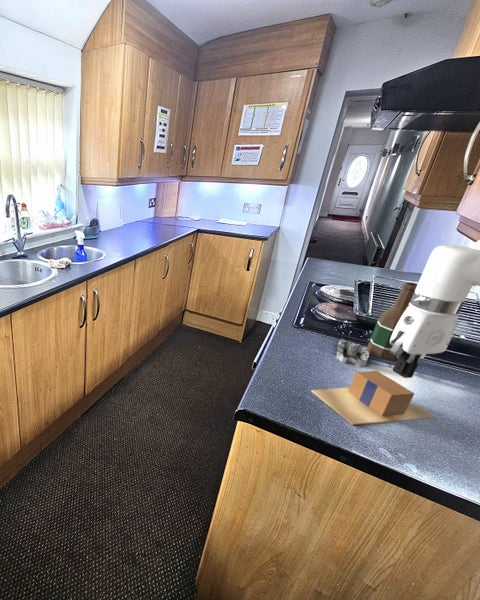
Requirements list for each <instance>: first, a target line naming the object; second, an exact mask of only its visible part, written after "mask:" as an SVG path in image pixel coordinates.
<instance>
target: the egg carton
mask: <svg viewBox="0 0 480 600" xmlns="http://www.w3.org/2000/svg"><path fill="white" fill-rule="evenodd" d="M344 350H346V353H345V355H347V356H348V357H346V356H345V355H344ZM358 353H359V354H360V356H359V358H357V359H354V358H353V357H356V356H357V354H358ZM335 358H336V360H338V361H340V362H341V363H343V364H344V363H345V364H346V363H351V364H353V365H354V366H355V367H358V368H360V367H366V365H367V363H368V359H369V358H370V354H369V352H368V351H367V346H364V347H363V346H361V344H360V343H357V344H356V343H355V342H352V341H348V340H345V339H343V338H340V340H339V342H338V343H337V347H336V357H335Z"/></svg>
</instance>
